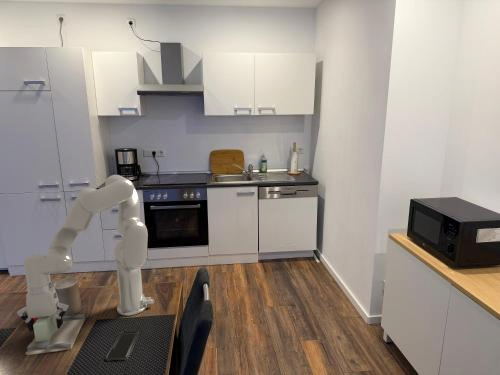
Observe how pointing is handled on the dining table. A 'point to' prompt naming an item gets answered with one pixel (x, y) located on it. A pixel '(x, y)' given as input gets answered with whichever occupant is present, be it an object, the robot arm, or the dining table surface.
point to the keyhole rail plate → (59, 336)
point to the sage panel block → (45, 328)
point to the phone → (122, 346)
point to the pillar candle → (69, 295)
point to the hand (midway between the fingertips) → (46, 328)
